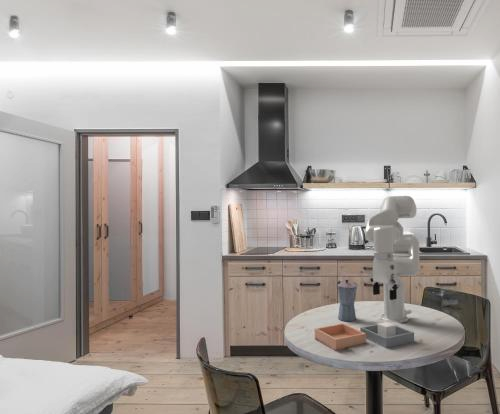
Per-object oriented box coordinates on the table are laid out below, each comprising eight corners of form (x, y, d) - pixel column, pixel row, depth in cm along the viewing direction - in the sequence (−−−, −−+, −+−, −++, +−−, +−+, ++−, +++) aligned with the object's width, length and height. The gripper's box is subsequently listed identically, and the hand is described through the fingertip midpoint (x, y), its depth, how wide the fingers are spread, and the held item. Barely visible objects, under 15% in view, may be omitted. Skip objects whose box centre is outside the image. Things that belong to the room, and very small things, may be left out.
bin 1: (343, 333, 165) (342, 323, 165) (366, 344, 151) (365, 333, 151) (314, 338, 159) (314, 328, 159) (335, 351, 145) (335, 339, 145)
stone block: (386, 335, 158) (386, 321, 158) (395, 339, 154) (395, 325, 154) (377, 337, 156) (377, 323, 156) (386, 341, 152) (386, 327, 152)
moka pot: (348, 324, 177) (347, 282, 177) (329, 316, 191) (328, 277, 191) (364, 321, 181) (363, 280, 181) (344, 313, 195) (343, 275, 195)
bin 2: (387, 332, 165) (387, 322, 165) (414, 343, 151) (414, 332, 151) (360, 337, 159) (360, 327, 159) (386, 349, 145) (385, 338, 145)
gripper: (406, 257, 148) (407, 300, 148) (376, 253, 164) (377, 291, 164) (391, 259, 146) (392, 302, 146) (362, 254, 162) (363, 293, 162)
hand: (384, 296), depth 155 cm, fingers open, 9 cm apart
